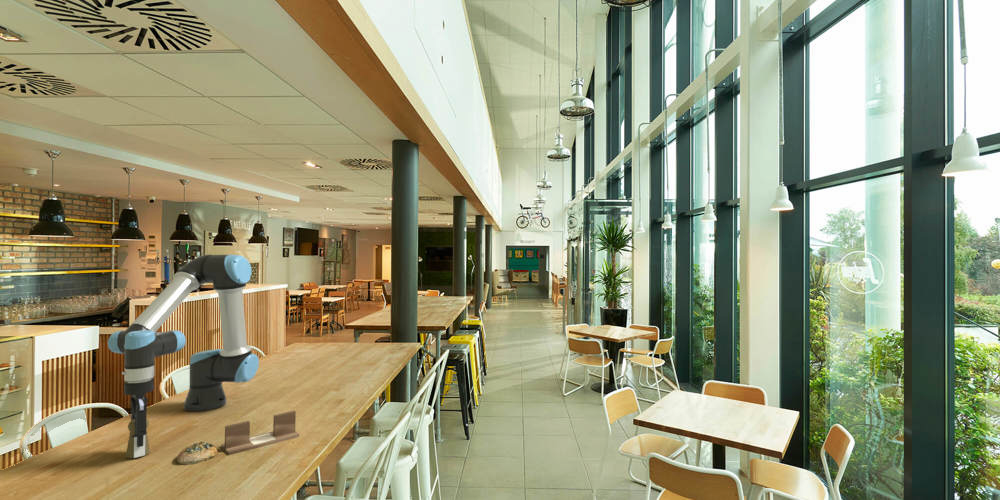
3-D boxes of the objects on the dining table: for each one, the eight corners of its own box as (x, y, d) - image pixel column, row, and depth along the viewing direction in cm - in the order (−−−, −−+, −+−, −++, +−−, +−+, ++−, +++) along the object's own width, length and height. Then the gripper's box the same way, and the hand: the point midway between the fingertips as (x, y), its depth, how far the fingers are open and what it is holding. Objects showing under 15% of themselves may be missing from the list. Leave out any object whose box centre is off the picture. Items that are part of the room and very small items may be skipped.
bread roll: (192, 448, 149) (194, 434, 149) (225, 454, 148) (227, 439, 148) (166, 465, 138) (168, 449, 138) (201, 471, 137) (203, 455, 137)
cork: (154, 451, 146) (155, 417, 146) (134, 459, 140) (134, 423, 140) (141, 448, 148) (142, 414, 148) (120, 456, 142) (121, 421, 142)
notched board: (221, 446, 151) (222, 423, 151) (289, 429, 166) (290, 408, 166) (228, 455, 144) (229, 430, 145) (299, 436, 160) (299, 414, 160)
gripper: (120, 376, 148) (119, 446, 148) (127, 388, 135) (126, 466, 134) (149, 372, 153) (148, 440, 153) (158, 383, 140) (157, 458, 140)
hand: (138, 452), depth 144 cm, fingers closed on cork, 6 cm apart
